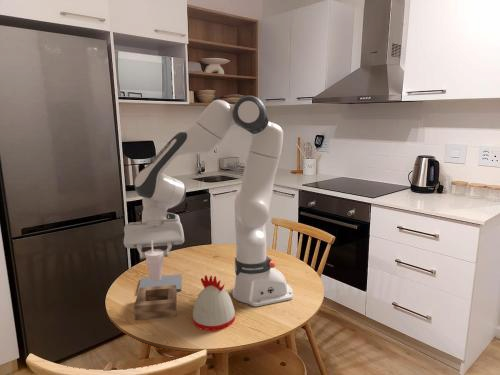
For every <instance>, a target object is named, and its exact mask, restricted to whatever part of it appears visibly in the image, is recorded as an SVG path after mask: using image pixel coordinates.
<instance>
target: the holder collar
mask: <svg viewBox="0 0 500 375" xmlns="http://www.w3.org/2000/svg"><path fill="white" fill-rule="evenodd" d="M138 288H139V287H138ZM137 292H138V294H136V299H135V303H134V306H133V308H134V317H135V321H139V320H141V321H142V320H151V319H160V318H171V317H172V318H173V317H176V315H177V303H178V302H177V300H178V299H177V297H178V296H177V292H176V285H167V286H155V287H143V288H139V291H138V290H137Z"/></svg>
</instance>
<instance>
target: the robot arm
mask: <svg viewBox="0 0 500 375" xmlns="http://www.w3.org/2000/svg"><path fill="white" fill-rule="evenodd" d="M268 117H269V116H268V113H267V109H266V106H265V104H264V103H263V101H262V100H261V99H260V98H259V97H257V96H254V95H244V96H241V97H240V98H239V99H237V101H236V102H235V103H234V104H231V103H229V102H227V101H226V100H223V99H214V100H212V101H211V102H210V103H209V104H208V105H207V107H206V108H204V110H203V111H202V113H201V114H200V115H199V116H198V118H197V120H196V121H195V122H194V124H192V126H191V127H189V128H187V129H186V130H185V131H180V132H178V133H176V134H175V135H174V136H173V137H172V138H171V139H170V140H169V141H168V142H167V143H166V144H165V146H164V147H162V149H161V150H160V151H159V152H158V153H157V154H156V155H155V156H154V157H153V159H152V160H151V161H150V162H149V163H148V164H147V165H146V166H144V168H142V169H141V170H140V171H139V172H138V173H137V175H136V176H135V179H134V180H133V185H134V186H133V187H134V189H135V191H136V193H137V195H138V196H139V197H142V206H143V208H142V211H141V221H136V222H134V221H133V222H128V223H126V224H125V225H124V227H123V232H124V238H123V245H124V247H125V248H126V249H137V251H138V253H139V258H140V260H143V259H144V260H146V257H145V252H146V251H142V250H143V248H149V247H150V248H151V240H153V247H161V246H162V247H163V246H167V248H166V249H164V250H163V251H164V255H163V258H166V257H167V258H168V257H169V254H170V251H171V250H172V247H173V246H175V245H176V246H177V245H183V244H184V242H185V235H184V229H183V228H184V227H183V225H182V223H181V219H180V216H179V215H178V214H176V213H173V212H169V211H168V210H169V209H173V208H174V207H176V206H179V205H180V204H182V203H183V202H184V200H185V198H186V195H187V194H186V193H187V187H186V184H185V183H184V182H183V181H181V180H179V179H176V178H174V177H172V176H169V175H167V174H165V173H164V172H165V171H166V170H167V168H168V167H169V166H170V165H171V164H172V163H173V161H175V160H176V158H179V156H181V155H186V154H187V155H189V154H193V155H194V154H195V155H207V154H211V153H214V152H215V151H216V150H217V149H218V148H219V146H220V145H221V143H222V141H223V140H224V139H225V137H226V136H227V134H228V132H230V130H231V129H232V128H235V127H240V128H242V129H243V130H246V131H247V132H249V133H250V134H251V142H250V146H249V149H248V152H247V153H248V154H247V158H246V161H245V165H244V170H243V172H242V173H243V175H242V180H241V181H242V182H241V186H240V187H241V188H240V191H239V192H238V193H237V194H236V196H235V199H234V223H235V226H234V227H235V258H234V273H235V279H234V285H233V289H232V297H233V298H234V299H235V300H236V301H238V302H240V303H245V304H248V305H250V306H252V307H260V306H266V305H270V304H275V303H279V302H284V301H290V300H292V299H293V298H294V290H293V289H292V287H291V285H290V284H288V282H287V280H286V278H285V275H284V274H283V273H282V272H281V271H280V270H278V269H276V268H275V266H276V263H275V261H274V260H272V259H271V258H270V256H268V255H267V232H266V230H267V229H266V223H267V222H268V219H269V214H270V209H271V204H272V203H271V202H272V198H273V191H274V182H275V178H276V174H277V171H278V166H279V162H280V159H281V155H282V149H283V143H284V130H283V128H282V127H281V126H280V125H279V124H277V123H275V122H271V121H269V118H268Z"/></svg>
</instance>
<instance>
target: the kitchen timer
mask: <svg viewBox="0 0 500 375" xmlns="http://www.w3.org/2000/svg"><path fill="white" fill-rule="evenodd" d="M200 281H201V284H202V286H203V289H202V290H201V291H200V292H199V294H197V297H196V300H195V302H194V305H193V309H192V323H193V324H194V326H195V327H197V328H198V329H200V330H203V331H210V332H211V331H212V332H213V331H220V330H221V331H222V330H225V329H227V328H228V327H230V326H231V325H233V324H234V322H235V320H236V310H235V307H234V304H233V300H232V298H231V296H230V295H229V294H230V293H228V291H226V289H225V288H224V287H225V283H224V284H222V286H220V284H221V280H217V276H216V275H215V276H214V277H213V276H212V275H210V276H209V278H208V276H207V275H204V278H203V277H201V278H200Z"/></svg>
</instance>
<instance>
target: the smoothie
mask: <svg viewBox="0 0 500 375" xmlns="http://www.w3.org/2000/svg"><path fill="white" fill-rule="evenodd" d="M150 248H151V249H149V250H146V251H144V252H145V260H146V266H147V271H148V277H150V280H151V281H159V280H161V276H163V275H162V273H163V262H164V250H163V249H161V248H154V246H153V240H151V247H150Z"/></svg>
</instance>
